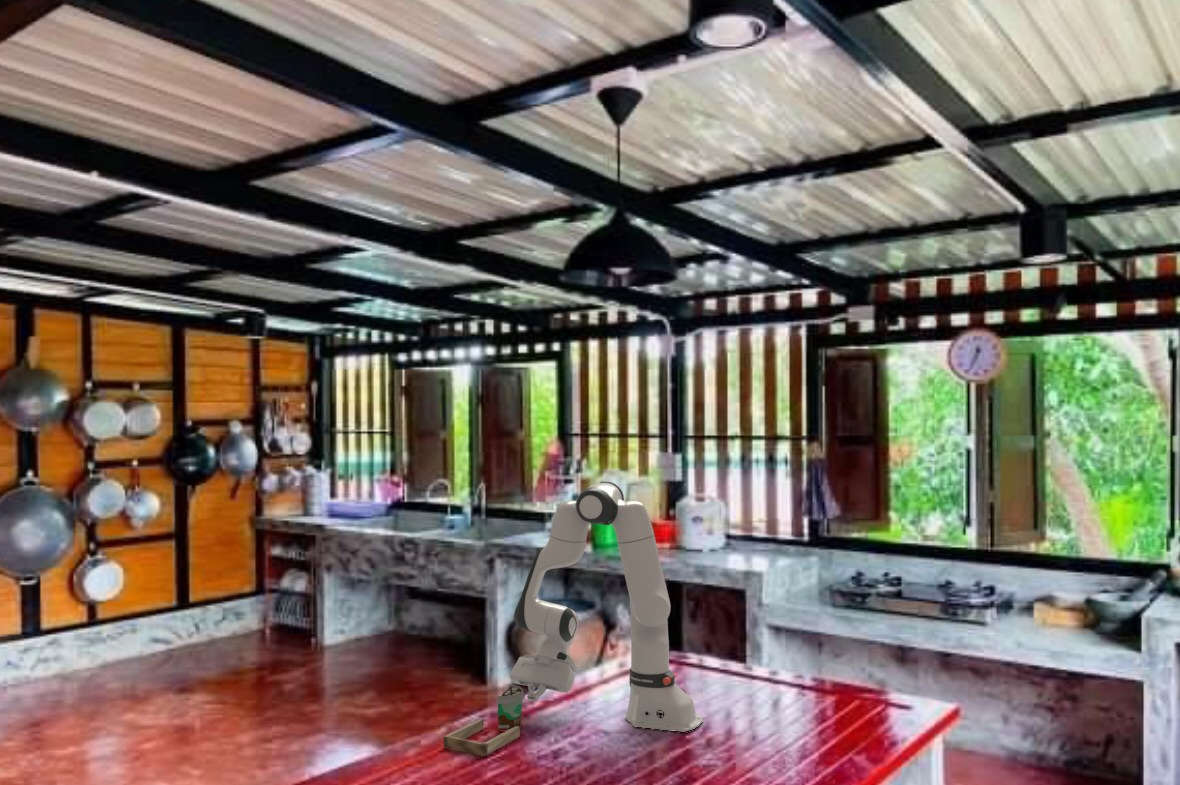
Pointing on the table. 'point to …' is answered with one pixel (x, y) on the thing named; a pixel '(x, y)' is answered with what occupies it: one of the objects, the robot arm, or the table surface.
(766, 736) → the table surface
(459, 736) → the wooden u-shaped frame
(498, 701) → the food container
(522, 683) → the robot arm
